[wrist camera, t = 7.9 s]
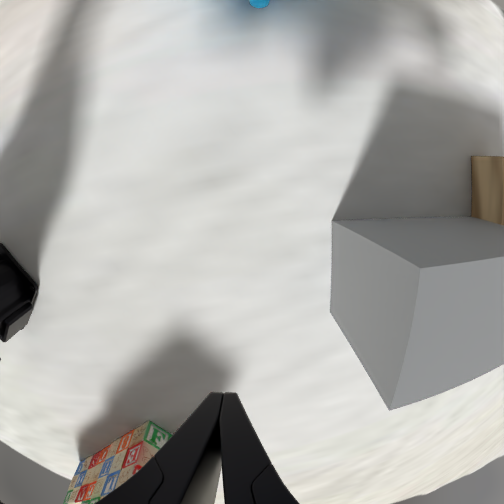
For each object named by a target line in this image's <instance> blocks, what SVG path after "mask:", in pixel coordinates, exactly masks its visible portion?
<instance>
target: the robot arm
mask: <svg viewBox="0 0 504 504" xmlns="http://www.w3.org/2000/svg"><path fill="white" fill-rule="evenodd" d="M33 288H34V289H33ZM37 291H38V286H37V284H36V283H35V282H34V281H33V280H32V279H31V278H30V276H29V275H28V274H27V273H26V272H25V271H24V270H23V269H22V267H21V266H20V265H19V264H18V263H17V262H16V260H15V259H14V258H13V257H12V256H11V254H10V253H9V252H8V251H7V250H6V248H5V247H4V246H3V245H2V244H1V243H0V339H1V340H2V342H7V341H8V340H9V339H10V338H11V337H12V336H13V335H15V334H16V333H17V332H18V331H19V330H22V329H23V328H24V327H25V325H27V324H28V321H29V318H30V315H31V313H32V310H33V305H32V304H33V302H34V299H35V296H36V294H37ZM0 360H1V358H0ZM221 466H222V475H223V488H224V500H225V504H299V503H298V501H297V500H296V499H295V498H294V497H293V495H292V494H291V493H290V491H289V490H288V489H287V487H286V486H285V485H284V483H283V482H282V480H281V478H280V477H279V475H278V473H277V472H276V470H275V468H274V466H273V465H272V464H271V461H270V459H269V457H268V455H267V453H266V451H265V450H264V448H263V446H262V444H261V442H260V440H259V438H258V436H257V434H256V432H255V430H254V428H253V426H252V424H251V422H250V420H249V418H248V416H247V414H246V412H245V409H244V407H243V405H242V403H241V401H240V399H239V397H238V395H237V393H229V392H226V393H224V394H223V393H222V392H211V393H210V394H209V395H208V396H207V397H206V398H205V400H204V401H203V402H202V403H201V404H200V405H199V406H198V408H197V409H196V410H195V411H194V412H193V413H192V414H191V416H190V417H189V418H188V419H187V420H186V421H185V422H184V423H183V424H182V426H181V427H180V428H179V429H178V430H177V431H176V432H175V433H174V434H173V435H172V437H171V438H170V439H169V440H168V441H167V442H166V443H165V444H164V445H163V446H162V447H161V448H160V449H159V450H158V452H157V453H156V454H155V455H154V457H152V458H151V459H150V460H149V461H148V462H147V463H146V464H145V465H144V466H143V467H142V468H141V469H140V470H139V471H137V472H136V473H135V474H134V475H133V476H132V477H130V478H129V479H128V480H127V481H125V482H124V483H123V484H121V485H120V486H119V487H117V488H116V489H114V490H113V491H112V492H110V493H109V494H107V495H106V496H105V497H103V498H102V499H100V500H99V501H97V502H96V503H94V504H214V502H215V497H216V492H217V487H218V482H219V477H220V471H221ZM0 504H4V503H3V502H1V501H0Z"/></svg>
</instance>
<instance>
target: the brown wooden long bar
mask: <svg viewBox="0 0 504 504" xmlns="http://www.w3.org/2000/svg"><path fill="white" fill-rule="evenodd" d="M471 166H472V209H471V217H475V218H478V219H482V220H486V221H490V222H493V223H497V224H500V225H504V157H500V156H471Z"/></svg>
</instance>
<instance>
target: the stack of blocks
mask: <svg viewBox="0 0 504 504" xmlns="http://www.w3.org/2000/svg"><path fill="white" fill-rule="evenodd" d="M171 437H172V435H171V434H170V433H168V432H166V431H165V430H163V429H162V428H160V427H159V426H157V425H155V424H154V423H153V422H151V421H148V422H146V423H144V424H143V425H141V426H140V427H138V428H136V429H134V430H132V431H130V432H129V433H127V434H126V435H124V436H122V437H121V438H119V439H117V440H116V441H114V442H113V443H111V445H109V446H108V447H106V448H104V449H103V450H102V451H100V452H98V453H96V454H95V455H92V456H90V457H88V458H87V459H85V460H83V461H82V462H80V463H79V465H78V468H77V470H76V472H75V474H74V477H73V479H72V481H71V483H70V486H69V488H68V493H67V495H66V498H65V500H64V503H63V504H94V503H96V502H97V501H99V500H100V499H102V498H103V497H105V496H106V495H107V494H109V493H110V492H112V491H113V490H114V489H116V488H117V487H119V486H120V485H121V484H123V483H124V482H125V481H127V480H128V479H129V478H130V477H132V476H133V475H134V474H135V473H136V472H137V471H139V470H140V469H141V468H142V467H143V466H144V465H145V464H146V463H147V462H148V461H149V460H150V459H151V458H152V457H154V455H155V454H156V453H157V452H158V450H159V449H160V448H161V447H162V446H163V445H164V444H165V443H166V442H167V441H168V440H169V439H170V438H171Z"/></svg>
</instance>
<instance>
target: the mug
mask: <svg viewBox="0 0 504 504" xmlns="http://www.w3.org/2000/svg"><path fill="white" fill-rule="evenodd" d="M269 1H270V0H250V4H251V6H253V7H256V8H263V7H266V6H267V5H268V4H269Z"/></svg>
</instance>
